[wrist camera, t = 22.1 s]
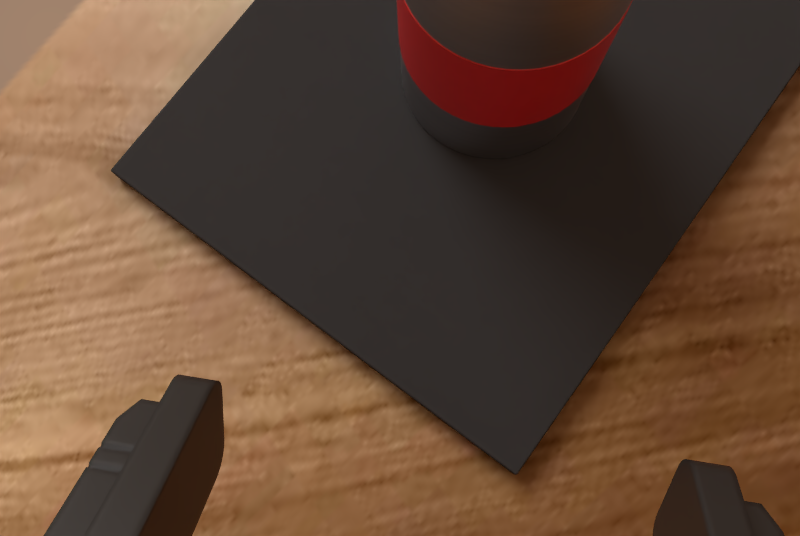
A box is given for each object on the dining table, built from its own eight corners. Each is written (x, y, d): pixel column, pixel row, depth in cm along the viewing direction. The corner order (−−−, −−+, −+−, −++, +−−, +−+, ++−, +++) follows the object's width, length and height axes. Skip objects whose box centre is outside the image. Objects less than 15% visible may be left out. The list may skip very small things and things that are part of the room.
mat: (513, 474, 23) (516, 475, 22) (117, 176, 25) (109, 170, 25) (850, -12, 26) (860, -23, 25) (468, -240, 28) (469, -254, 27)
